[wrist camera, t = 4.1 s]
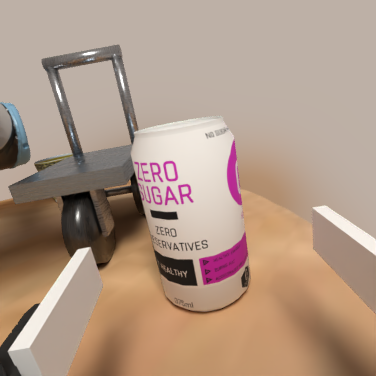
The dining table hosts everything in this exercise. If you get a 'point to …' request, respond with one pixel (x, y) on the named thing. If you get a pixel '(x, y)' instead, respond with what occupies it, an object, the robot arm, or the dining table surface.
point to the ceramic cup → (50, 162)
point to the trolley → (86, 167)
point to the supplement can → (194, 210)
